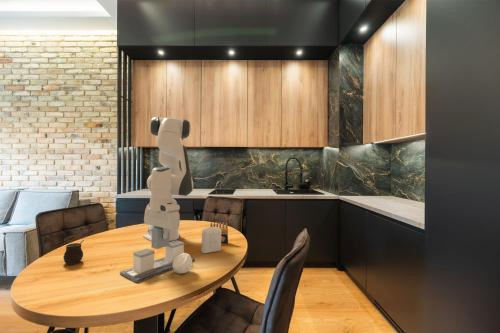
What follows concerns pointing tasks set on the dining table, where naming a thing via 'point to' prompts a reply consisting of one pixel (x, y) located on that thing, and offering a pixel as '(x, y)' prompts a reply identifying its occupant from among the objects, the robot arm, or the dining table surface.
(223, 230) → the ammunition clip
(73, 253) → the mate gourd
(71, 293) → the dining table surface
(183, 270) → the white lumpy ball
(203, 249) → the photo printer
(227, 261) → the dining table surface
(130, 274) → the rail panel
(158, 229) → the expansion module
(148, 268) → the plate
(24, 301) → the dining table surface
